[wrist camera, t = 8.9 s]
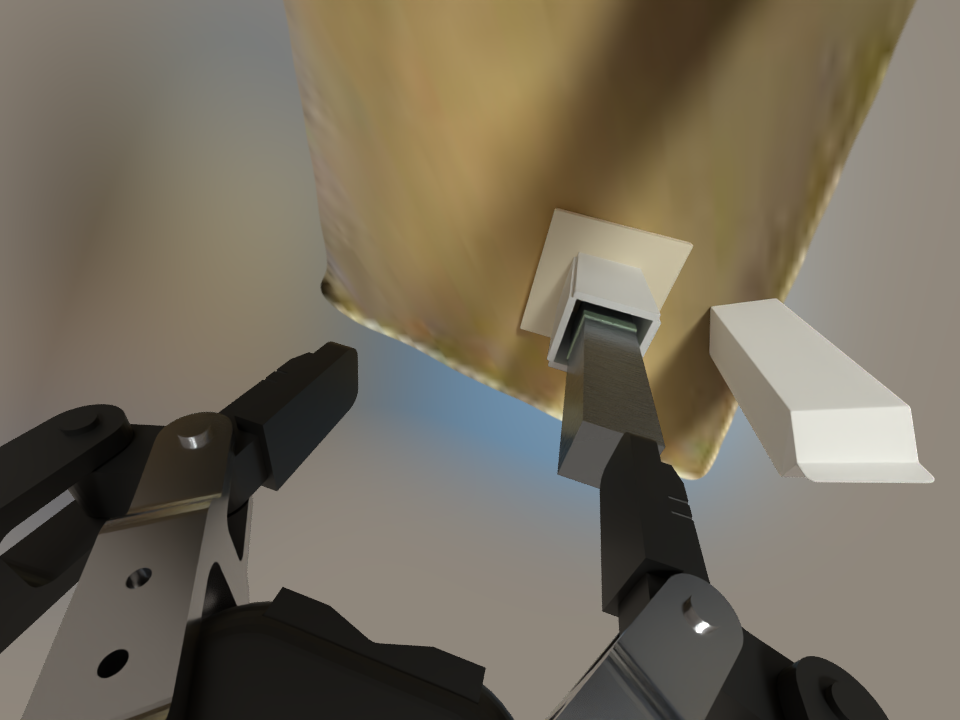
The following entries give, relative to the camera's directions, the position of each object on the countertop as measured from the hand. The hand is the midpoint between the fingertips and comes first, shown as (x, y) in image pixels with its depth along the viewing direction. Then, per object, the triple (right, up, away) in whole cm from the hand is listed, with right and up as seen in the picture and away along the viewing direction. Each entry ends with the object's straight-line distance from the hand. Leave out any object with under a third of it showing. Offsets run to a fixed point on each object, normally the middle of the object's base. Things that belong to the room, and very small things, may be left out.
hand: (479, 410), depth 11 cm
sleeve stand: (+13, +10, +31) cm, 35 cm away
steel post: (+11, +5, +24) cm, 27 cm away
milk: (+29, +5, +30) cm, 41 cm away
